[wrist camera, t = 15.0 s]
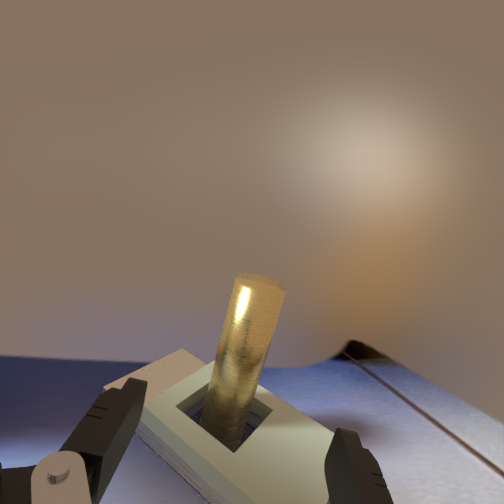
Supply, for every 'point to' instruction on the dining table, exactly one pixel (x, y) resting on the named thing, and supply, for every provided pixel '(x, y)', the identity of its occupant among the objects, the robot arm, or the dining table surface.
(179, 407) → the plate with square hole
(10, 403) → the dining table surface
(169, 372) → the chain end lower
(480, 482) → the dining table surface
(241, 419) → the pin
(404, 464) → the dining table surface
